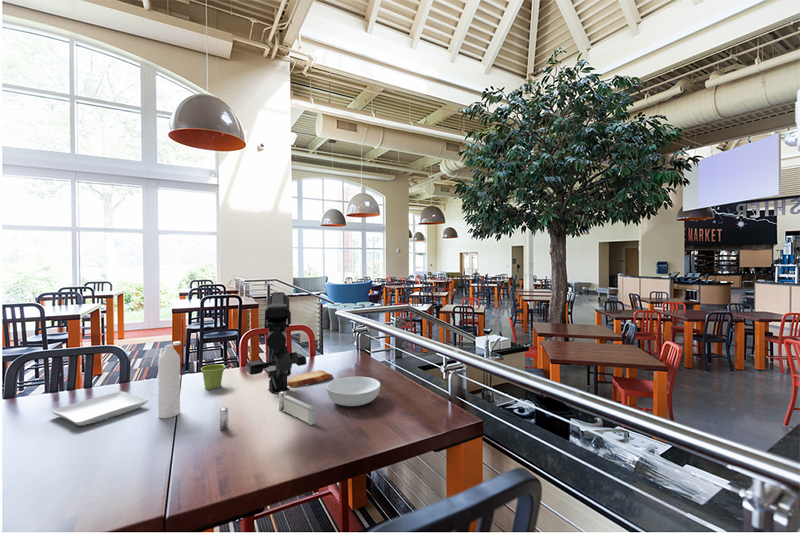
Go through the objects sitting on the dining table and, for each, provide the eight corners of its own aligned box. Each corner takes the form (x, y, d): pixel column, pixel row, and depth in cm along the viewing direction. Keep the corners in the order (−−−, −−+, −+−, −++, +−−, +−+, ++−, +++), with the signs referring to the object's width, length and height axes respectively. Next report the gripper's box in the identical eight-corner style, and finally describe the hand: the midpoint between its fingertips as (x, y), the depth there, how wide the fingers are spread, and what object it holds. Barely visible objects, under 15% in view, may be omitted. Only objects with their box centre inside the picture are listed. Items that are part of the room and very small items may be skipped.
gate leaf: (283, 411, 126) (283, 396, 126) (287, 409, 127) (287, 395, 127) (310, 425, 115) (311, 409, 115) (315, 423, 116) (315, 407, 116)
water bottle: (172, 418, 120) (172, 346, 120) (153, 418, 120) (153, 346, 120) (187, 408, 129) (187, 341, 129) (170, 408, 129) (170, 341, 129)
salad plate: (49, 419, 121) (49, 409, 121) (121, 398, 140) (121, 389, 140) (77, 432, 111) (77, 422, 111) (150, 408, 130) (150, 399, 130)
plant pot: (227, 382, 157) (227, 363, 157) (222, 389, 148) (222, 369, 148) (204, 384, 155) (204, 365, 155) (197, 392, 146) (197, 371, 146)
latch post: (226, 426, 115) (226, 406, 115) (229, 428, 113) (229, 408, 113) (218, 428, 113) (218, 409, 113) (221, 431, 111) (221, 411, 111)
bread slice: (283, 388, 152) (283, 379, 152) (298, 375, 170) (298, 367, 170) (323, 389, 150) (323, 380, 150) (334, 376, 168) (334, 368, 168)
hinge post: (283, 407, 130) (283, 390, 130) (287, 409, 128) (287, 392, 128) (277, 409, 128) (277, 392, 128) (281, 411, 126) (281, 393, 126)
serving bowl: (383, 393, 145) (383, 376, 145) (375, 414, 124) (375, 395, 124) (335, 391, 147) (335, 375, 147) (319, 411, 126) (319, 393, 126)
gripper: (255, 352, 105) (255, 403, 105) (313, 343, 117) (313, 389, 117) (245, 345, 114) (245, 392, 114) (300, 337, 125) (299, 380, 126)
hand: (277, 388), depth 117 cm, fingers closed
